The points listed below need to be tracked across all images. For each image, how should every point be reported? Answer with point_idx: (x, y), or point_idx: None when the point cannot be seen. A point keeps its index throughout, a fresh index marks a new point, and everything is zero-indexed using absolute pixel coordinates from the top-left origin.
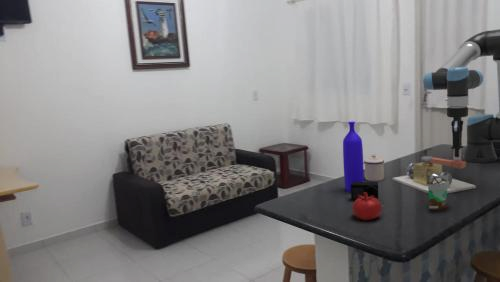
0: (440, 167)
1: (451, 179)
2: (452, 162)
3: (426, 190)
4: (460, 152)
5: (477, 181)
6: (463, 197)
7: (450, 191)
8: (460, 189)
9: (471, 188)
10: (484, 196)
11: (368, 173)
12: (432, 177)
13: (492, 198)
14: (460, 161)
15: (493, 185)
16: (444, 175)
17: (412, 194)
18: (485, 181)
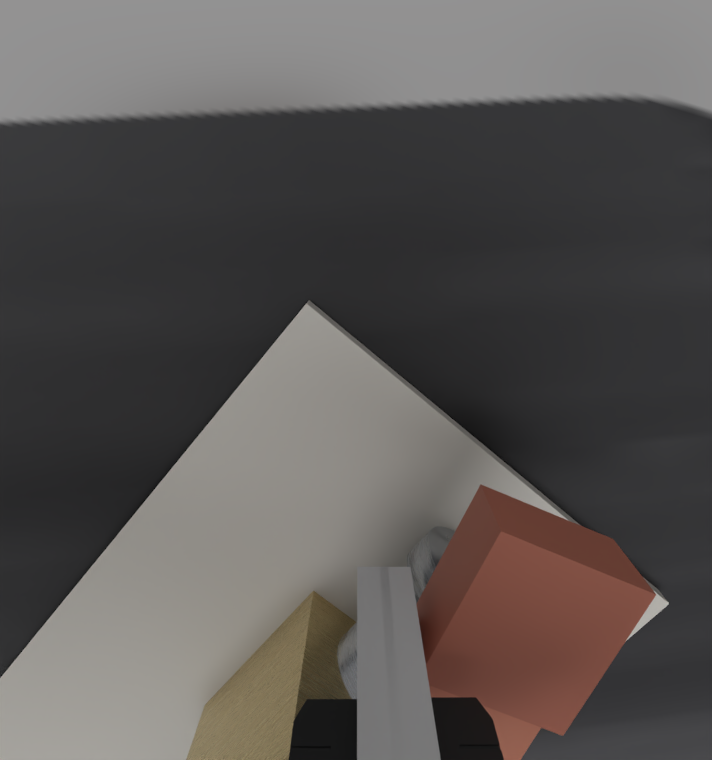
0: None
1: (434, 546)
2: (568, 707)
3: None
4: (442, 752)
5: (61, 299)
6: (654, 376)
7: (542, 496)
8: (455, 424)
9: (349, 334)
10: (581, 201)
11: None
12: None
13: (633, 123)
14: (529, 611)
15: (154, 136)
16: None
17: (651, 738)
18: (28, 224)
